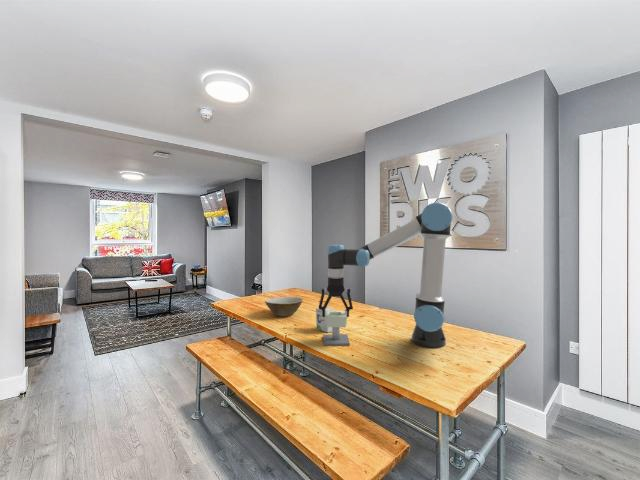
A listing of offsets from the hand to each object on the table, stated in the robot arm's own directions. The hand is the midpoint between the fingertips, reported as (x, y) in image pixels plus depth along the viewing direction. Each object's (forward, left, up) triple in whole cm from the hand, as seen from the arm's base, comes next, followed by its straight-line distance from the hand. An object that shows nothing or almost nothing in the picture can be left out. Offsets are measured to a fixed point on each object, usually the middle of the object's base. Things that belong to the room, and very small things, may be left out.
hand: (335, 323), depth 145 cm
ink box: (+5, -16, -9) cm, 19 cm away
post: (0, 0, -8) cm, 8 cm away
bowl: (+30, -46, -9) cm, 55 cm away
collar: (0, 0, 0) cm, 0 cm away
